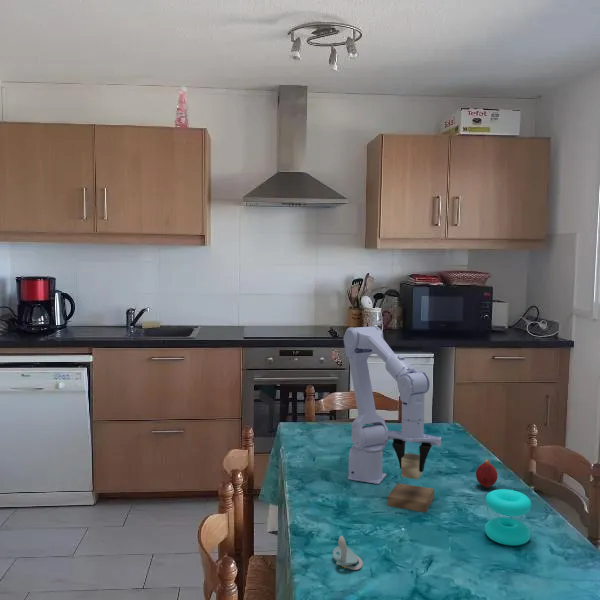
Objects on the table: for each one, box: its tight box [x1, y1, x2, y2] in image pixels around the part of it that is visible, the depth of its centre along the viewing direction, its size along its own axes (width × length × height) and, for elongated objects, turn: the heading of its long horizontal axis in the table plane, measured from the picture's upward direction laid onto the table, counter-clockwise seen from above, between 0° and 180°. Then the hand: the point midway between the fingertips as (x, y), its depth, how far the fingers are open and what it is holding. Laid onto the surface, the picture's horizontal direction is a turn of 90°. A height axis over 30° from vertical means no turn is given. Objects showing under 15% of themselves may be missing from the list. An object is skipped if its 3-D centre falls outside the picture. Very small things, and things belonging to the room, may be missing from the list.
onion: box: [475, 459, 499, 489], centre depth 172 cm, size 6×6×8 cm
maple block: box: [400, 452, 423, 480], centre depth 162 cm, size 4×4×5 cm
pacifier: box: [332, 535, 364, 571], centre depth 130 cm, size 7×6×6 cm
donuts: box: [484, 488, 532, 546], centre depth 142 cm, size 10×10×10 cm
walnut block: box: [387, 483, 435, 513], centre depth 163 cm, size 10×10×3 cm
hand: (411, 469), depth 162 cm, fingers closed on maple block, 4 cm apart
